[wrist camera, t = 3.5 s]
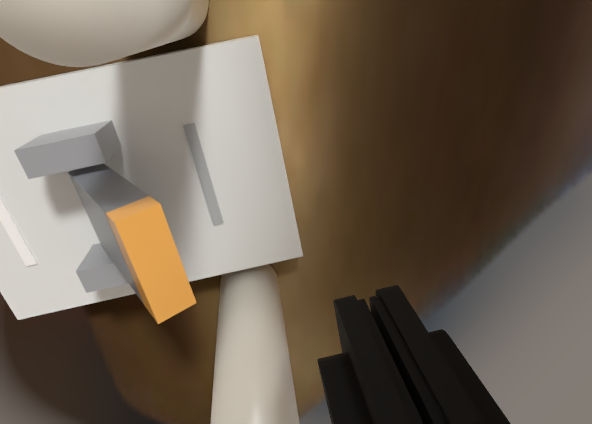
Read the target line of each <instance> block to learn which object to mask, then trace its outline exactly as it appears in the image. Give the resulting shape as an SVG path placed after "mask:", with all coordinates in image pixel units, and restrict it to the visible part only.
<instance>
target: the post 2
mask: <svg viewBox="0 0 592 424" xmlns="http://www.w3.org/2000/svg"><path fill="white" fill-rule="evenodd" d="M211 424H300V423H299V417H298V410H297V404H296V397H295V390H294V384H293V377H292V371H291V364H290V357H289V351H288V344H287V338H286V331H285V324H284V318H283V311H282V305H281V298H280V291H279V285H278V278H277V275H276V273H275V271H274V269H273V268H272V267H271V266H270V265H268V264H266V265H262V266H257V267H253V268H248V269H244V270H239V271H235V272H230V273H226V274H223V275H222V277H221V282H220V296H219V310H218V325H217V339H216V353H215V368H214V382H213V397H212V411H211Z"/></svg>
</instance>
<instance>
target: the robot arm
mask: <svg viewBox="0 0 592 424" xmlns="http://www.w3.org/2000/svg"><path fill="white" fill-rule="evenodd" d="M369 300H370V308H371V312H370V310H369V308H368V306H367V304H366V301H365V300H364V299H361V300H357V299H356V297H355V295H352V296H348V297H344V298H340V299H335V300H334V307H335V313H336V319H337V324H338V330H339V336H340V341H341V347H342V353H341V354H337V355H333V356H329V357H325V358H321V359H318V364H319V369H320V374H321V378H322V383H323V388H324V392H325V396H326V401H327V405H328V409H329V413H330V418H331V422H332V424H510V422H509V421H508V420H507V418H506V417H505V415H504V414H503V412H502V411H501V409H500V408H499V407H498V405H497V404H496V402H495V401H494V399H493V398H492V396H491V395H490V394H489V392H488V391H487V389H486V388H485V386H484V385H483V384H482V382H481V381H480V379H479V378H478V376H477V375H476V374H475V372H474V371H473V369H472V368H471V366H470V365H469V364H468V362H467V361H466V359H465V358H464V356H463V355H462V354H461V352H460V351H459V349H458V348H457V346H456V345H455V344H454V342H453V341H452V339H451V338H450V337H449V335H448V334H447V333H446V332H445V331H444V330H442V329H441V330H437V331H433V332H429V333H428V331H427V330H426V328H425V327H424V325H423V324H422V322H421V320H420V319H419V317H418V316H417V314H416V313H415V311H414V309H413V308H412V306H411V305H410V303H409V302H408V300H407V298H406V297H405V295H404V294H403V292H402V291H401V289H400V288H399V286H397V285H395V286H391V287H387V288H382V289H378V290H376V296H373V297H370V299H369Z"/></svg>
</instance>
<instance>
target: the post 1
mask: <svg viewBox="0 0 592 424" xmlns="http://www.w3.org/2000/svg"><path fill="white" fill-rule="evenodd" d="M208 7H209V0H0V37H1V38H2V39H4V40H5V41H6V42H8V43H9V44H11V45H12V46H14V47H15V48H17V49H18V50H20V51H22V52H24V53H26V54H28V55H30V56H32V57H35V58H37V59H40V60H42V61H45V62H49V63H53V64H57V65H62V66H70V67H88V66H96V65H100V64H104V63H107V62H111V61H114V60H117V59H120V58H123V57H126V56H130V55H133V54H136V53H139V52H142V51H146V50H149V49H152V48H155V47H158V46H161V45H165V44H168V43H171V42H174V41H177V40H181V39H184V38H186V37H189V36H191V35H192V34H194V33H195V32H196V31H197V30H198V29H199V28H200V27H201V26H202V24H203V22H204V20H205V18H206V16H207V12H208Z"/></svg>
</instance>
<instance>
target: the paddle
mask: <svg viewBox="0 0 592 424" xmlns="http://www.w3.org/2000/svg"><path fill="white" fill-rule="evenodd" d="M68 174H69V176H70V178H71V180H72V182H73V185H74V187H75V189H76V191H77V193H78V195H79V198H80V200H81V202H82V204H83V206H84V209H85V211H86V213H87V215H88V217H89V219H90V222H91V224H92V226H93V228H94V230H95V232H96V235H97V237H98V239H99V241H100V243H101V246H102V247H103V249H104V250H105V251H106V253H107V254H108V256H109V257H110V258H111V260H112V261H113V263H114V264H115V265H116V267H117V268H118V269H119V271H120V272H121V274H122V275H123V276H124V278H125V279H126V281H127V282H128V283H129V285H130V286H131V287H132V289H133V290H134V292H135V293H136V294H137V296H138V297H139V298H140V300H141V301H142V303H143V304H144V305H145V307H146V308H147V310H148V311H149V312H150V314H151V315H152V316H153V318H154V319H155V321H156V322H157V323H158V324H160V323H161V322H163V321H165V320H167V319H169V318H170V317H172V316H174V315H176V314H177V313H179V312H181V311H183V310H185V309H186V308H188V307H190V306H192V305H194V304H195V303H196V300H195V297H194V295H193V292H192V289H191V286H190V284H189V281H188V278H187V275H186V273H185V270H184V267H183V264H182V262H181V259H180V256H179V253H178V251H177V248H176V245H175V242H174V240H173V237H172V234H171V231H170V229H169V226H168V223H167V220H166V218H165V215H164V212H163V209H162V207H161V204H160V203H159V202H157V201H156V200H154V199H153V198H152V197H150V196H149V195H147V194H146V193H145V192H143V191H142V190H140V189H139V188H138V187H136V186H135V185H133V184H132V183H130V182H129V181H128V180H126V179H125V178H123V177H122V176H121V175H119V174H118V173H116V172H115V171H114V170H112V169H111V168H109V167H108V166H106V165H105V164H104V163H103V164H99V165H94V166H89V167H84V168H80V169H75V170H72V171H69V172H68Z"/></svg>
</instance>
